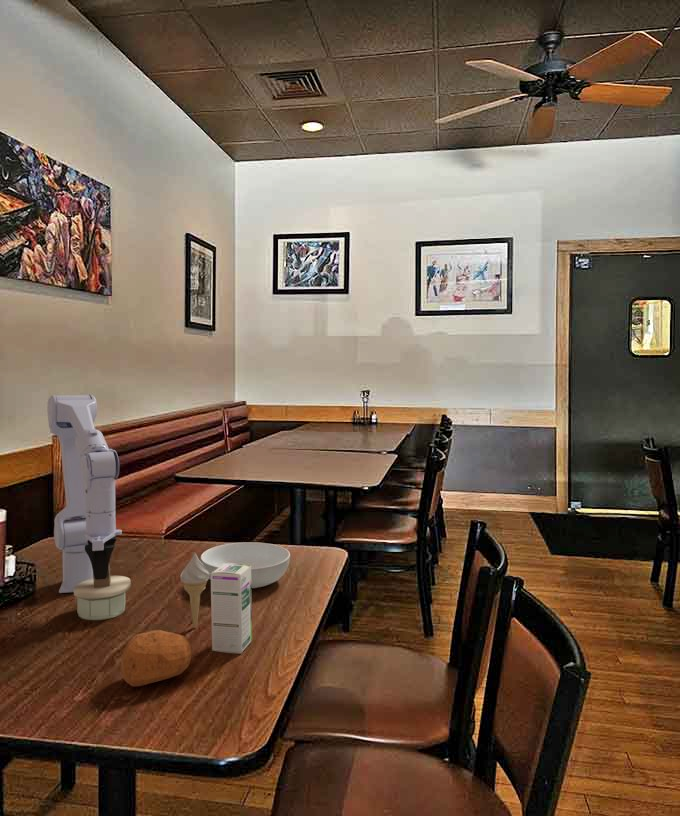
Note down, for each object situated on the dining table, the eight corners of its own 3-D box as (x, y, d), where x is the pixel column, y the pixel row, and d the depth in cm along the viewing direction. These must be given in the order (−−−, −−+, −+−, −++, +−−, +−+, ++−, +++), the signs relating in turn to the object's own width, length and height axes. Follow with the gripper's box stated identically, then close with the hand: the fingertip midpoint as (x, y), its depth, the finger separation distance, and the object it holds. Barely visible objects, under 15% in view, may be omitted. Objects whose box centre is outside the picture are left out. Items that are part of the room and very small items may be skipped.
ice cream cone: (215, 624, 127) (214, 549, 126) (199, 635, 121) (199, 557, 120) (190, 620, 129) (190, 546, 128) (174, 631, 123) (174, 554, 122)
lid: (77, 584, 136) (75, 561, 136) (131, 577, 139) (130, 554, 139) (70, 602, 126) (68, 577, 125) (129, 594, 129) (128, 570, 128)
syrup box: (241, 654, 114) (242, 573, 113) (210, 651, 115) (210, 571, 114) (252, 641, 119) (252, 564, 118) (222, 638, 120) (222, 561, 120)
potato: (120, 670, 107) (120, 626, 107) (189, 660, 111) (189, 618, 111) (121, 697, 99) (121, 649, 98) (196, 686, 102) (196, 640, 102)
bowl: (80, 605, 136) (80, 587, 135) (125, 602, 138) (125, 583, 138) (75, 622, 127) (75, 602, 127) (123, 617, 129) (123, 598, 129)
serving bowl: (182, 590, 146) (181, 560, 145) (231, 564, 165) (231, 538, 165) (263, 604, 138) (263, 572, 138) (304, 575, 157) (305, 547, 157)
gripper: (119, 517, 125) (120, 585, 126) (123, 502, 139) (123, 564, 140) (80, 519, 123) (81, 588, 124) (88, 503, 137) (89, 566, 138)
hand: (101, 575), depth 132 cm, fingers closed on lid, 3 cm apart
